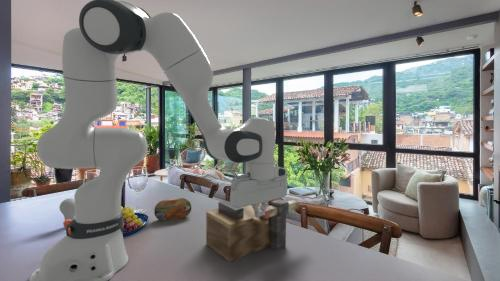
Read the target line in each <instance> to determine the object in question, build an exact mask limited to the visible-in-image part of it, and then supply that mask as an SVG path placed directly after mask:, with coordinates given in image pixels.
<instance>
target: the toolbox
mask: <svg viewBox="0 0 500 281" xmlns="http://www.w3.org/2000/svg"><path fill="white" fill-rule="evenodd" d="M270 204H271V205H270V206H272V205H274V206H277V207H278V215H275V216H272V217H269V218H267V219H268V224H265V225H262V226H260V225H258V224H256V223H254V222H250V223H247V224H244V225H240V226H237V227H234V228H230V229H229V228H228V227H226V226H224V225H223V224H221V223H219V222H218V221H216V220H214V219H212V218H211V217H209V216H207V215H206V216H205V218H206V220H205V222H206V223H205V225H206V227H205V231H206V232H205V233H206V236H205V237H206V238H205V240H206V242H205V244H206V245H207V246H209V248H211V249H213V250H214V251H215V252H216V253H217V254H218V255H220V256H222V258H224V259H226V261H228V262H229V263H230V262H233V261H235V260H238V259H240V258H243V257H245V256H248V255H250V254H253V253H255V252H258V251H261V250H263V249H265V248H267V247H271V248H272V249H274V250H276V251H278V250H281V249H283V248H285V247H286V242H287V238H286V237H287V235H286V234H287V215H289V214H290V211H289V202H287V201H286V200H283V199H282V198H279V199H275V200H271V201H270Z"/></svg>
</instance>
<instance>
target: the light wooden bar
mask: <svg viewBox="0 0 500 281" xmlns="http://www.w3.org/2000/svg"><path fill="white" fill-rule="evenodd" d="M287 202H289V212H291V211H293V210H297V209H299V201H298V200H295V199H291V200H288V201H287ZM259 209H260V208H259ZM275 215H278V207H277V206H274V205H268V207H267V208H266V210H265V216H261V217H263V218H265V219H267V218H269V217H272V216H275Z"/></svg>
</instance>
